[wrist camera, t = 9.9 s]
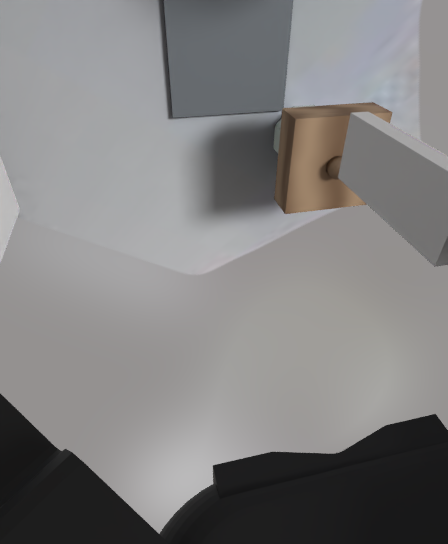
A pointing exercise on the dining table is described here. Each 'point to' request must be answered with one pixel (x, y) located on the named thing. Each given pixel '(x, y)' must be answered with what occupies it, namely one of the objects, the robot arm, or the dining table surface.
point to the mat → (227, 55)
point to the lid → (316, 156)
